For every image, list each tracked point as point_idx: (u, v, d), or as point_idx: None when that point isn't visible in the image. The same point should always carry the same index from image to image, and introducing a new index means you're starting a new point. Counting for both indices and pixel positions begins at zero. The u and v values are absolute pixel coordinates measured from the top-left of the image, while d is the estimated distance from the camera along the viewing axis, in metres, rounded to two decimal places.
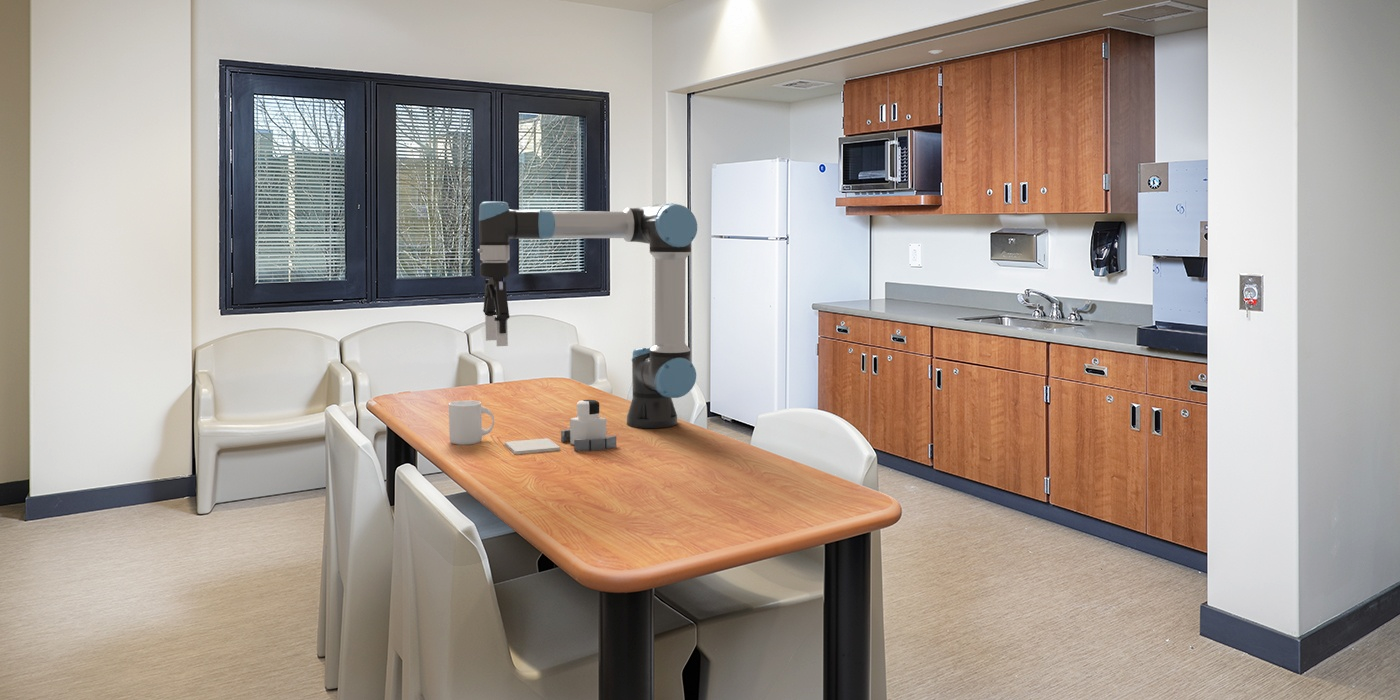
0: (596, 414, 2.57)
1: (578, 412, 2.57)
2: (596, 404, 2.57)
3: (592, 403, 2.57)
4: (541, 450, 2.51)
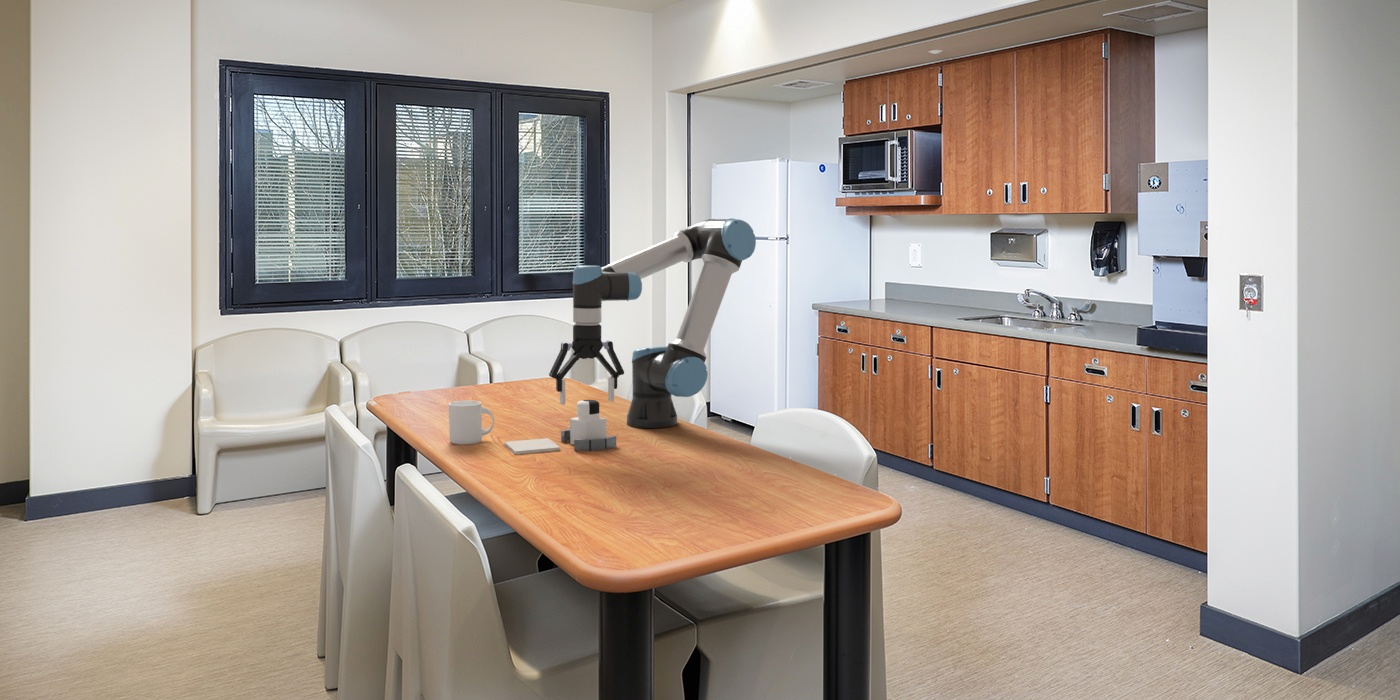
0: (596, 414, 2.57)
1: (578, 412, 2.57)
2: (596, 404, 2.57)
3: (592, 403, 2.57)
4: (541, 450, 2.51)
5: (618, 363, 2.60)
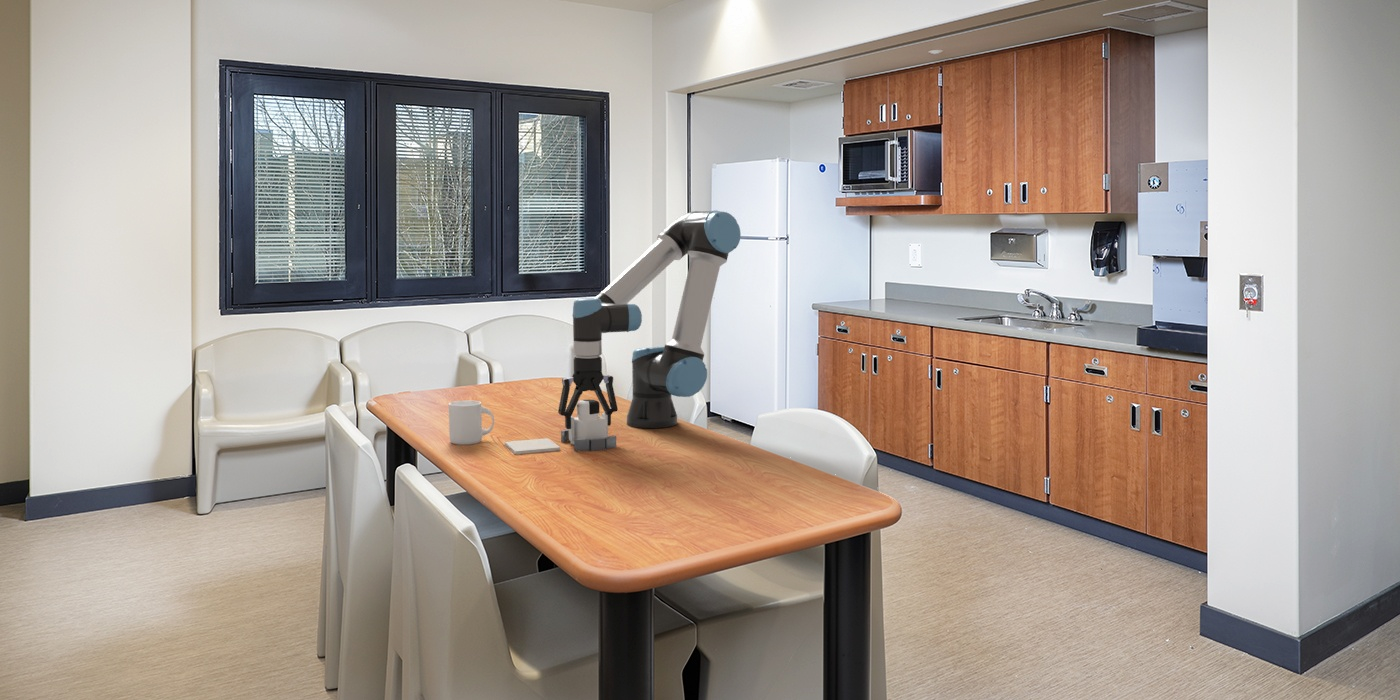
0: (596, 414, 2.57)
1: (578, 412, 2.57)
2: (596, 404, 2.57)
3: (592, 403, 2.57)
4: (541, 450, 2.51)
5: (614, 399, 2.61)
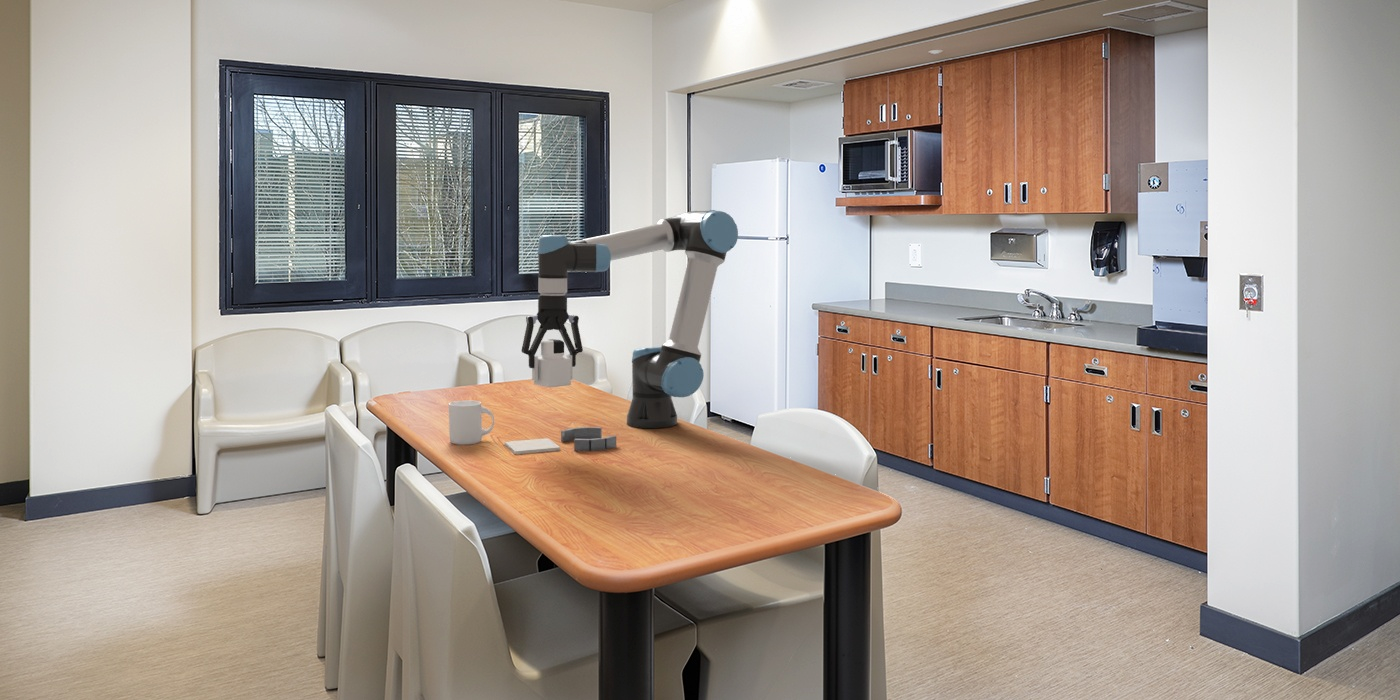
0: (560, 353, 2.53)
1: (542, 351, 2.52)
2: (561, 343, 2.52)
3: (557, 342, 2.52)
4: (541, 450, 2.51)
5: (579, 339, 2.56)
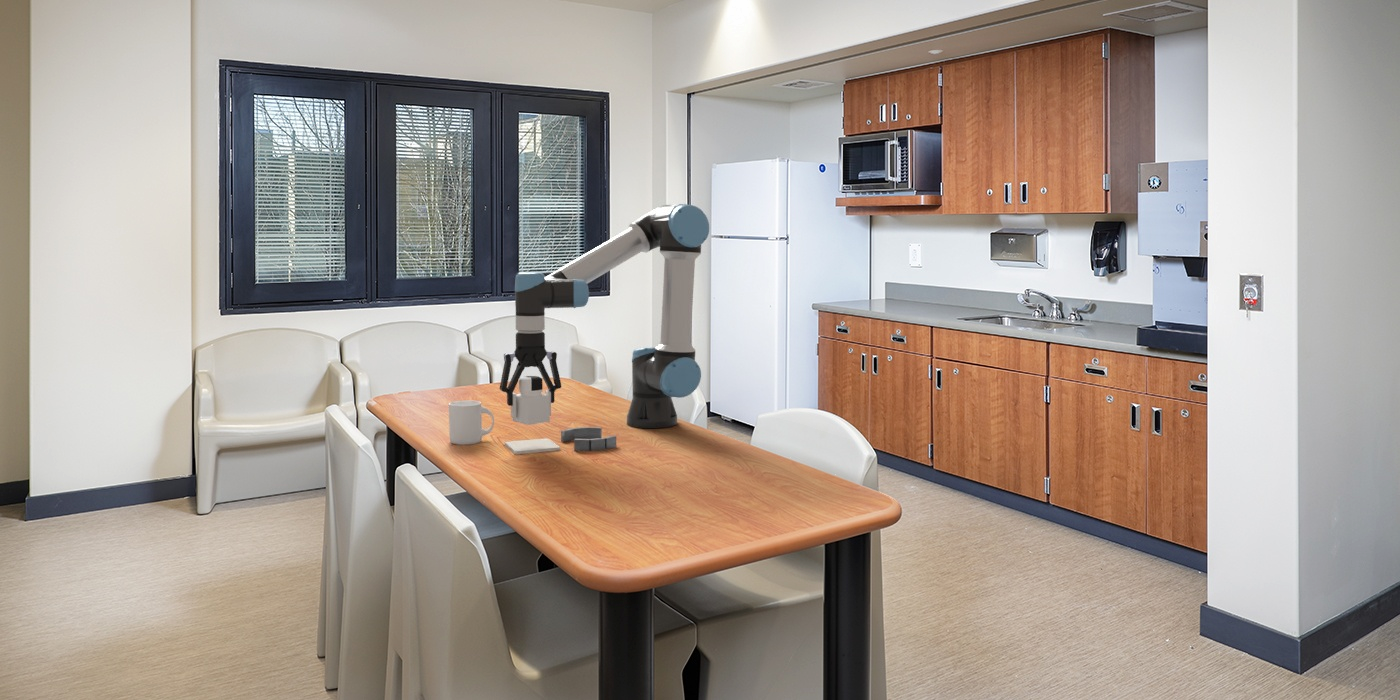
0: (539, 390, 2.52)
1: (520, 388, 2.52)
2: (539, 380, 2.52)
3: (534, 379, 2.51)
4: (541, 450, 2.51)
5: (557, 376, 2.55)
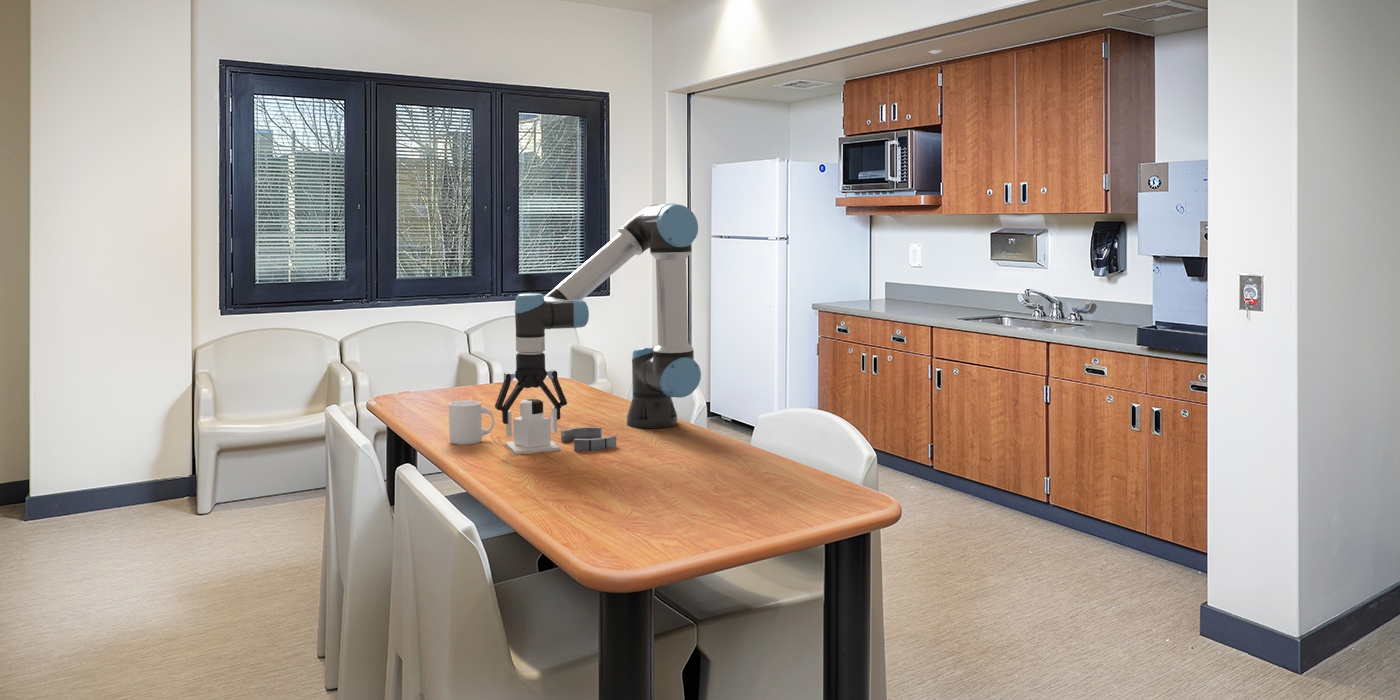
0: (539, 414, 2.53)
1: (521, 412, 2.53)
2: (539, 404, 2.53)
3: (535, 403, 2.52)
4: (541, 450, 2.51)
5: (561, 393, 2.56)
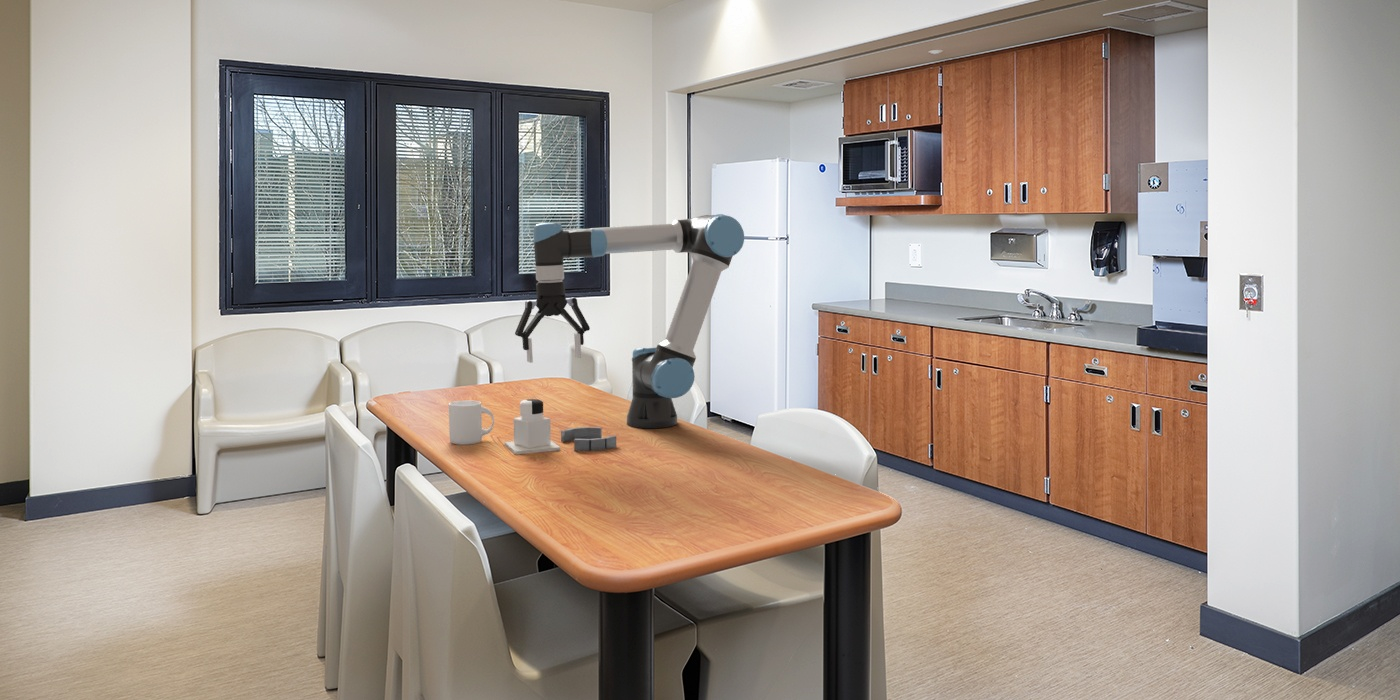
0: (539, 414, 2.53)
1: (521, 412, 2.53)
2: (539, 404, 2.53)
3: (535, 403, 2.52)
4: (541, 450, 2.51)
5: (583, 319, 2.62)
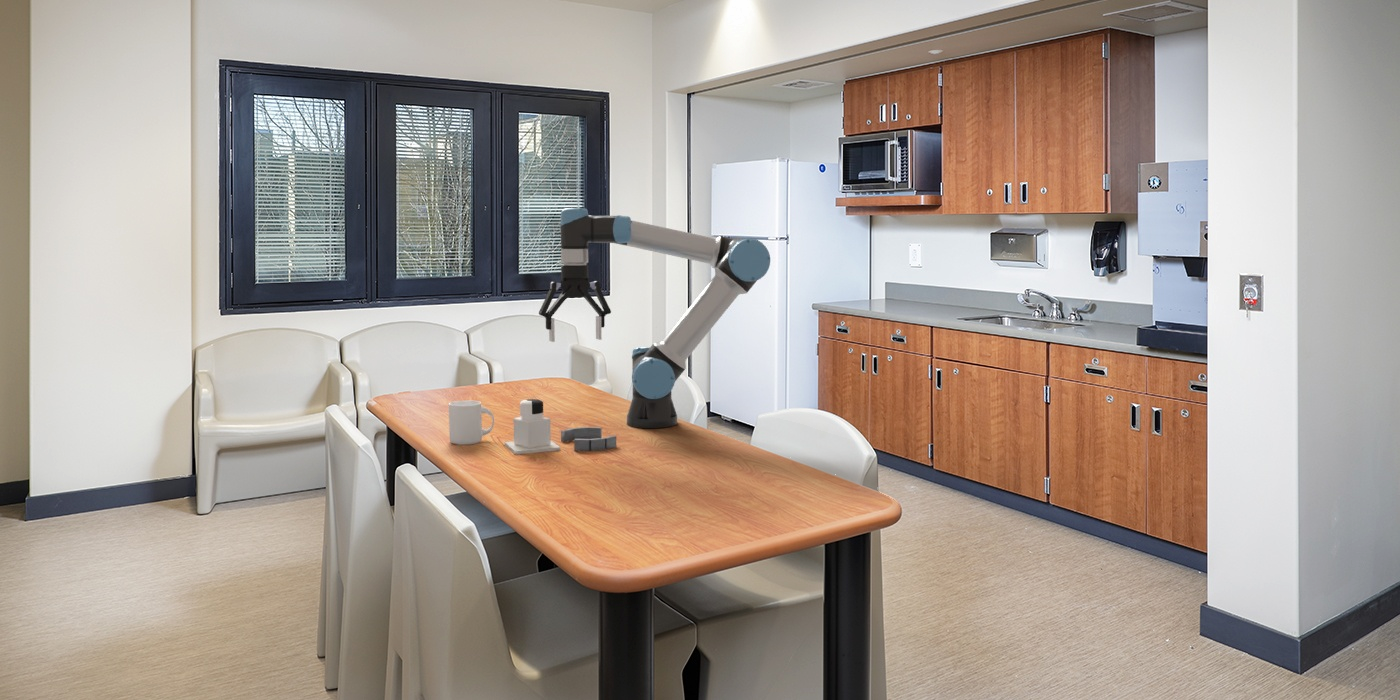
0: (539, 414, 2.53)
1: (521, 412, 2.53)
2: (539, 404, 2.53)
3: (535, 403, 2.52)
4: (541, 450, 2.51)
5: (605, 302, 2.71)
